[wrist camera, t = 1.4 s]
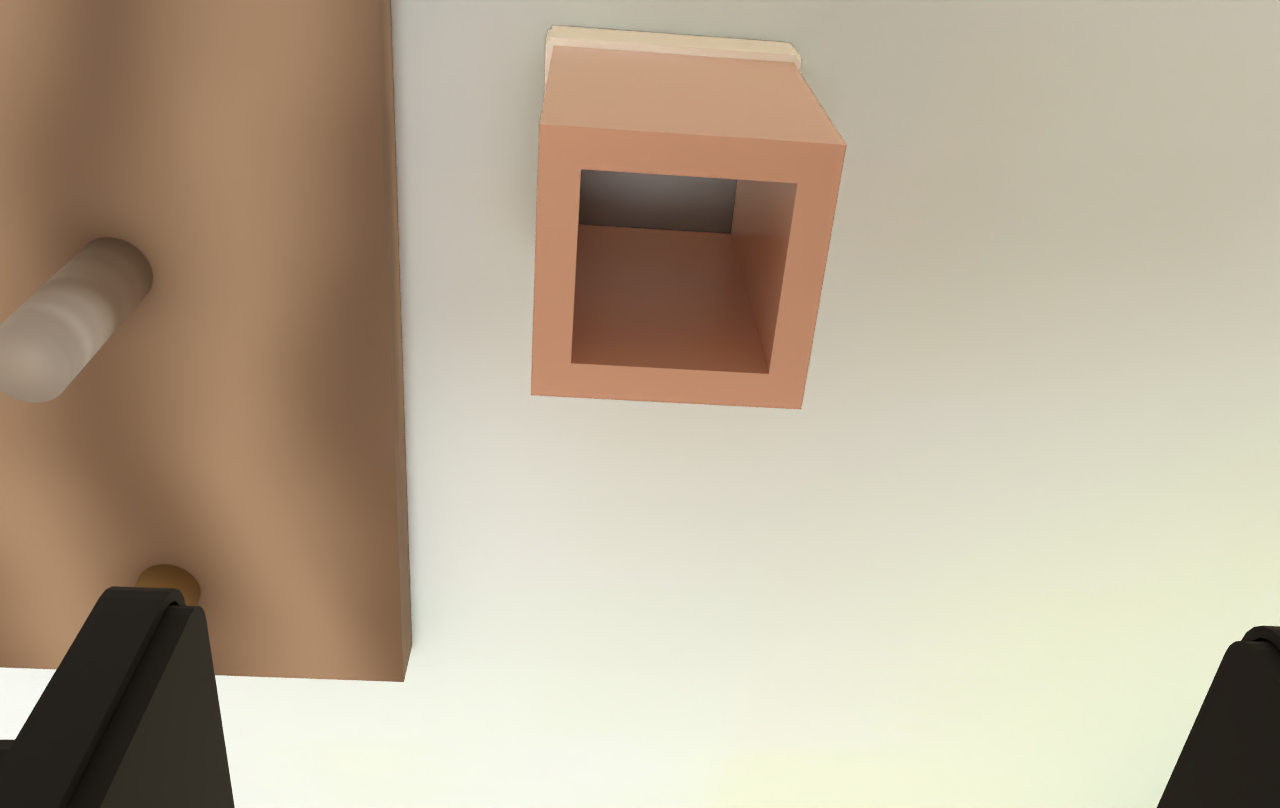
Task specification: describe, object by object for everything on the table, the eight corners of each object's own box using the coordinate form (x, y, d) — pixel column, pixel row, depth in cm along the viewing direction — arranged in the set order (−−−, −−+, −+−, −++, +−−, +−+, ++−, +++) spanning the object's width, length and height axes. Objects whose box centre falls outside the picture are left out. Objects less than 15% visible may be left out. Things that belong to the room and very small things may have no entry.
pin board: (378, -345, 21) (303, -382, 15) (411, 644, 32) (375, 813, 27) (-305, -408, 20) (-629, -469, 15) (-15, 628, 32) (-137, 798, 26)
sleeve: (793, 42, 24) (857, 135, 18) (762, 269, 27) (808, 417, 21) (548, 25, 24) (529, 113, 18) (540, 255, 26) (521, 402, 20)
